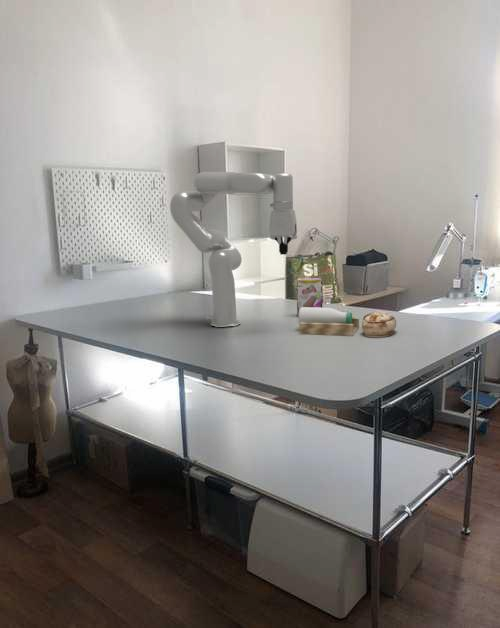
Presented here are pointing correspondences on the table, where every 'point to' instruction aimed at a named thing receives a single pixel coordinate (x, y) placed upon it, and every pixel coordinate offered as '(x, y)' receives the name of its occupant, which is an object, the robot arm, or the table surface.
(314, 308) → the milk bottle
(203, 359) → the table surface
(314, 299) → the candy bar box
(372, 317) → the bowl of food
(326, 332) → the brown rectangular tray
